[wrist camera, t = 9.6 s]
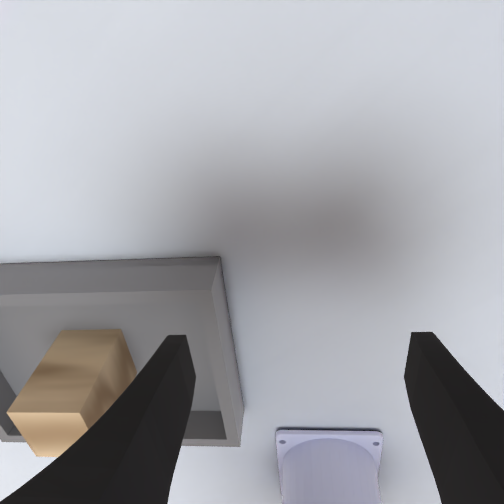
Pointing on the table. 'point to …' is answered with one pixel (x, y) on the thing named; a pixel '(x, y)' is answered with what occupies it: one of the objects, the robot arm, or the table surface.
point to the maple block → (72, 388)
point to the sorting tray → (126, 328)
